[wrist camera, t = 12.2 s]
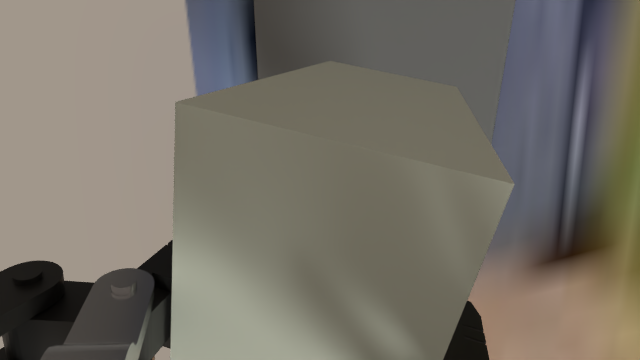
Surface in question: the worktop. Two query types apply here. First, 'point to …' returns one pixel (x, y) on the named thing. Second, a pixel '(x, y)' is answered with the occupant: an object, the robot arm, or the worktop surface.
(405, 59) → the mat
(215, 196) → the tall sage green block
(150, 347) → the robot arm
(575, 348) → the worktop surface
